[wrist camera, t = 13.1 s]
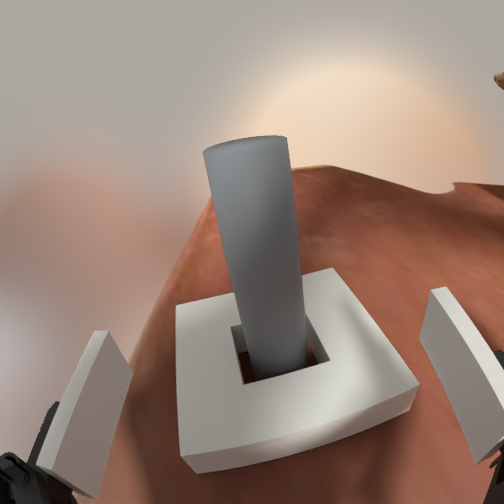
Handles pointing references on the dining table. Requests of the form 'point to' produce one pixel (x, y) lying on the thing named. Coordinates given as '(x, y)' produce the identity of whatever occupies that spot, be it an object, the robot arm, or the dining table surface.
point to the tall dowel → (261, 248)
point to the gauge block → (283, 381)
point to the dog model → (499, 79)
